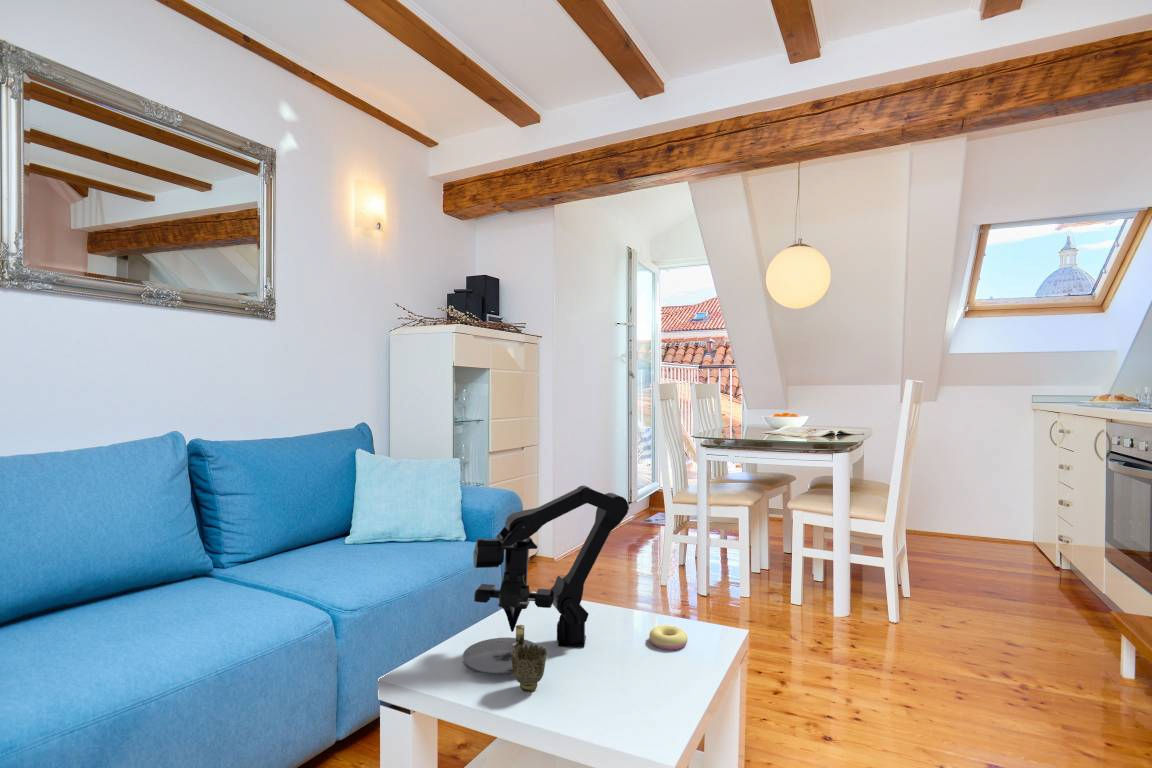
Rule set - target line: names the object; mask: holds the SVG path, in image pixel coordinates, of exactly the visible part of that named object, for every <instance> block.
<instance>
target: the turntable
mask: <svg viewBox="0 0 1152 768" xmlns="http://www.w3.org/2000/svg"><path fill="white" fill-rule="evenodd" d="M526 644H527V647H528V648H529V647H530V645H531V644H533V645H534V646H535V645H537V646H538V648H540V647H541V646H539V645H538V644H537V643H535V642H533V641H531V640H528V639H525V624H516V626H515V637H495V638H494V637H493V638H488V639H484V640H481V641H477V642H476V643H473V644H471V645H470V646H468V647H467V648H465V650H464V651H463V653H462V663H463V664H464V666H465V667H466V668H467V669H469V670H470V671H473V672H475V673H479V674H483V675H490V676H499V675H500V676H501V675H502V676H503V675H504V676H505V675H514V673H513V667H512V657H511V652H512V653H513V648H514V647H515V648H517V646H518V645H521V646H522V647H524V646H525V645H526Z"/></svg>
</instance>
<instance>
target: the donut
mask: <svg viewBox="0 0 1152 768" xmlns="http://www.w3.org/2000/svg"><path fill="white" fill-rule="evenodd" d="M648 635H649V637H648V638H649V640H650V642H651V644H653V645H654V646H655V647H657V648H659V649H662V648H663V650H667V649H676V650H680V649H682V648H683V647H685V646H686V645H687V643H688V640H689V639H688V634H687V633H686V631H685V630H684V629H682V628H680V627H678V626H676V625H669V624H661V625H657V626H655V627H653V628H652V629H651V630H650V632H649V634H648ZM679 648H680V649H679Z"/></svg>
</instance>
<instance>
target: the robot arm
mask: <svg viewBox="0 0 1152 768" xmlns="http://www.w3.org/2000/svg"><path fill="white" fill-rule="evenodd" d="M586 504H588V505H590V506H591V505H592V506H594V507H596V511H595V518H594V524H593V525H592V526H591V527H592V528H591V529H590V532H589V534H588V535H587V537H586V539H585V541H584V542H583V544H582V546H581V548H580V550H579V552H578V554H577V556H576V558H575V560H574V561H573V564H572V566H571V568H570V569H569V571H568V573H567V574H566V575H564V576H563V577H562V576H561V575H558V576H557V577H556V579H555V581H554V584H553V586H552V587H551V588H550V589H549V588H547V589H546V588H538V589H537V591H536V592H530V585H528V573H529V553H530V550H537V549H538V545H537V544H536V543H535V542H534V541H533V539H532V538H531V537H532V536H533V535H534V534H536V533H537V532H538V531H539V530H540V529H542V527H543V526H544V525H546V524H547V523H549V522H552V521H553V520H555V519H558V518H560V517H561V516H563V515H565V514H568V513H569V512H572V511H574V510H576V509H578V508H579V507H582V506H584V505H586ZM629 510H630V506H629V503H628V500H627V499H626V498H625V497H623V496H622V495H618V494H616V493H614V492H608V493H607V492H606V493H602V492H599V491H598V490H595V489H592V488H591V487H589V486H586V485H580V486H578V487H576V489H573V490H571V491H570V492H567V493H564V494H563V495H561V496H559V497H556V498H555V499H552V500H551V501H549V502H546V503H544V504H542V505H540V506H538V507H536V508H535V507H534V508H529V509H524V510H520V511H517V512H514V513H511V514H509V515H508V517H506V520H505V523H504V526H503V528H502V529H501V530H500V532H499V533H498V534H497V535H496V538H481V537H479V538H478V537H477V538H476V542H475V545H474V549H473V568H474V569H483V568H484V569H488V568H489V569H490V568H491V569H492V568H499V567H500V566H501V565H502V564H503V563H504V566H503V567H504V571H503V572H504V573H503V579H502V581H501V585H500V588H499V589H497V588H496V584H489V583H481V584H480V585H479V586H478V587H477V588H476V590H475V592H474V595H473V597H474V599H473V600H474V602H476V603H486V604H487V603H488V602H489V601H490V600H491V599H493V598H494V599H495V598H496V599H498V603H497V606H498V607H499V608H502V609H503V610H504V613H505V615H506V617H507V618H506V619H507V621H508V625H509V628H510V631H511V632H512V633H513V632H514V631H515V630H516V626H517V623H518V620H519V617H520V614H521V612H522V610H526V609H528V607H529V604H530V602H534V605H536V607H537V608H545V609H549V608H550V609H551V608H552V606H554V608H555V609H556V610H557V612H558V613H559V614H560V615H559V619H558V621H557V622H556V623H557V624H556V641H557V642H558V643H557V647H568V648H569V647H570V648H584V647H585V646H586V640H587V635H586V623H587V621H588V618H589V612H588V611H587V610H586V609H585V608H584V607H583V606H582V605H581V602H582V600H583V594H584V588H585V587H584V586H585V583H586V581H587V579H588V576H589V574H590V572H591V571H592V569H593V566H594V565H595V563H596V561H597V560H598V559H597V558H599V555H600V553H601V551H602V549H603V547H604V545H605V543H606V541H607V539H608V538H609V536H610V534H611V532H612V531H613V530H615V528H617V527H618V526H619V525H620V524H621V523H622V521H623V520H624V519H625V517H626V516H627V515H628V513H629Z"/></svg>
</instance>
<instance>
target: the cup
mask: <svg viewBox="0 0 1152 768" xmlns="http://www.w3.org/2000/svg"><path fill="white" fill-rule="evenodd" d="M537 645H538V644H537ZM537 645H535V646H534V645H533V644H531V645H530V647H529V648H528V647H527V644H526V645H525V646H524V647H522V646H521V645H518V646H517V648H515V647H514V648H513V653H512V652H511V657H512V667H513V677H514V678H515V681H517V682H518V683H519V688H520V690H521V691H522V692H525V693H533V692H534V691H536V690H537V688H538V683H539V682H540V681H541V680H542V678H543V677H544V673H545V667H546V659H547V648H546V647H543V646H542V645H540V646H539V645H538V646H539V647H540V648H538V646H537Z"/></svg>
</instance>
